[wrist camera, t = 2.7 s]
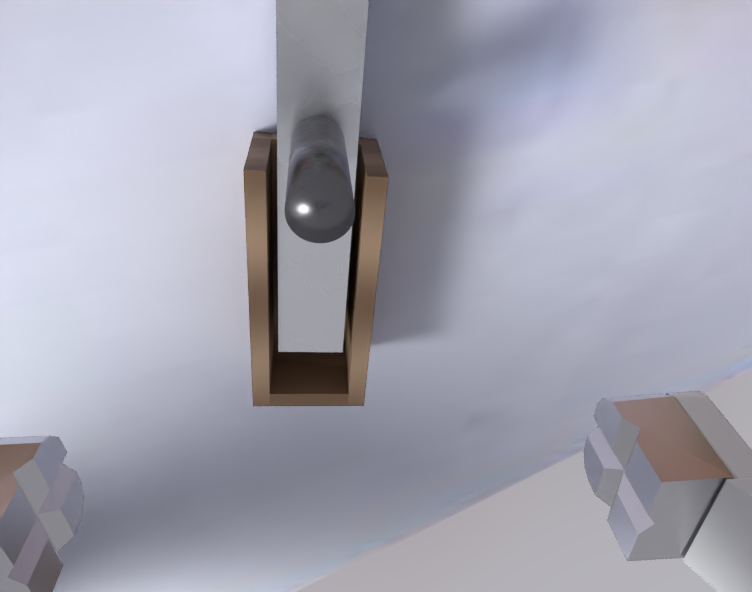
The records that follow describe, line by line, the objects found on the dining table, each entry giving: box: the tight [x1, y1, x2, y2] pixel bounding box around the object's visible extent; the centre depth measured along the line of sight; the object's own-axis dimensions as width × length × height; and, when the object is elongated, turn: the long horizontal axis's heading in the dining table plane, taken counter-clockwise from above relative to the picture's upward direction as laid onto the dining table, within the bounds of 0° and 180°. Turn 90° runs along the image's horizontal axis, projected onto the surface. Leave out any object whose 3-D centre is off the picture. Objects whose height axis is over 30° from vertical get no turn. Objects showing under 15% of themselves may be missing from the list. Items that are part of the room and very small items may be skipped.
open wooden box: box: [244, 132, 388, 406], centre depth 26 cm, size 12×5×4 cm, turn 175°
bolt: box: [276, 0, 369, 352], centre depth 21 cm, size 16×3×9 cm, turn 175°
